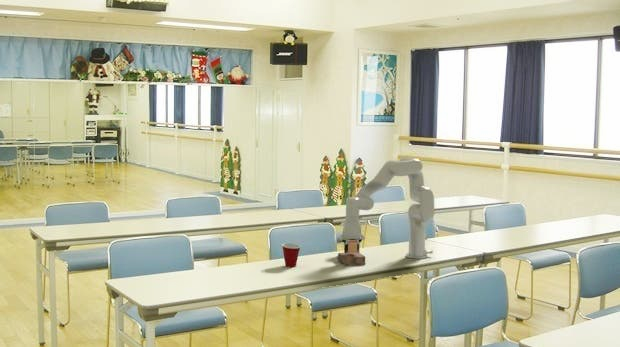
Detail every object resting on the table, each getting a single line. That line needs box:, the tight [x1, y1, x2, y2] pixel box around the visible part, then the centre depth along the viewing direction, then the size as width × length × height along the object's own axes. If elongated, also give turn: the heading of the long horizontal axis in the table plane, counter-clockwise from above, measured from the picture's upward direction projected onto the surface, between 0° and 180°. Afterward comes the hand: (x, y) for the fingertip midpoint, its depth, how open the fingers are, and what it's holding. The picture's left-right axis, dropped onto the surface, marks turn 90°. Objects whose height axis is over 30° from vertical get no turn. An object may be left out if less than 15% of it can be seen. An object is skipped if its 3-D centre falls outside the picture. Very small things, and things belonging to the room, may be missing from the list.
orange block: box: [347, 240, 357, 253], centre depth 383 cm, size 5×5×6 cm
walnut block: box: [337, 251, 366, 267], centre depth 383 cm, size 12×12×5 cm
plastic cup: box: [281, 242, 302, 268], centre depth 373 cm, size 11×11×12 cm
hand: (351, 250), depth 383 cm, fingers closed on orange block, 4 cm apart
